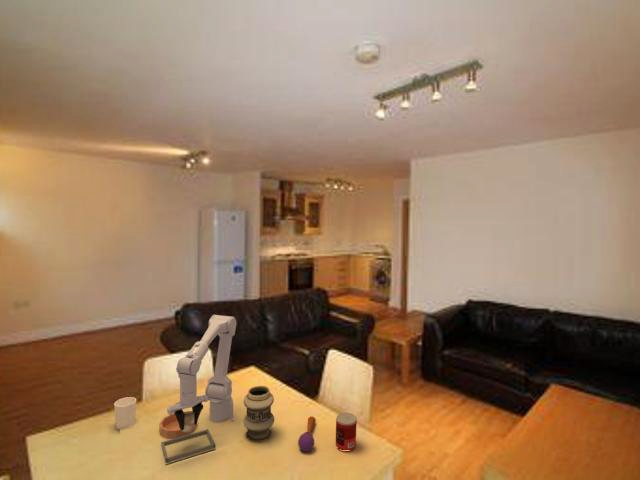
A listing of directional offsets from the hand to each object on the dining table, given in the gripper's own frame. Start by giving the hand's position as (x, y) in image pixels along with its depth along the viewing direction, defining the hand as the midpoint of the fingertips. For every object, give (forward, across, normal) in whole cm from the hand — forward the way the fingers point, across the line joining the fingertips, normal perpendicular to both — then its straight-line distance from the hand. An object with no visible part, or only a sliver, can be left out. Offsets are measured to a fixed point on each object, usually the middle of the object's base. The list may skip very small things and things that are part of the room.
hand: (188, 426), depth 132 cm
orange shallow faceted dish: (+9, -2, -14) cm, 17 cm away
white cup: (+9, +12, -32) cm, 35 cm away
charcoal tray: (+9, 0, 0) cm, 9 cm away
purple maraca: (+9, -38, +25) cm, 46 cm away
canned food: (+9, -45, +38) cm, 59 cm away
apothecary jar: (+9, -24, +10) cm, 28 cm away
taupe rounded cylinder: (+1, 0, 0) cm, 1 cm away
